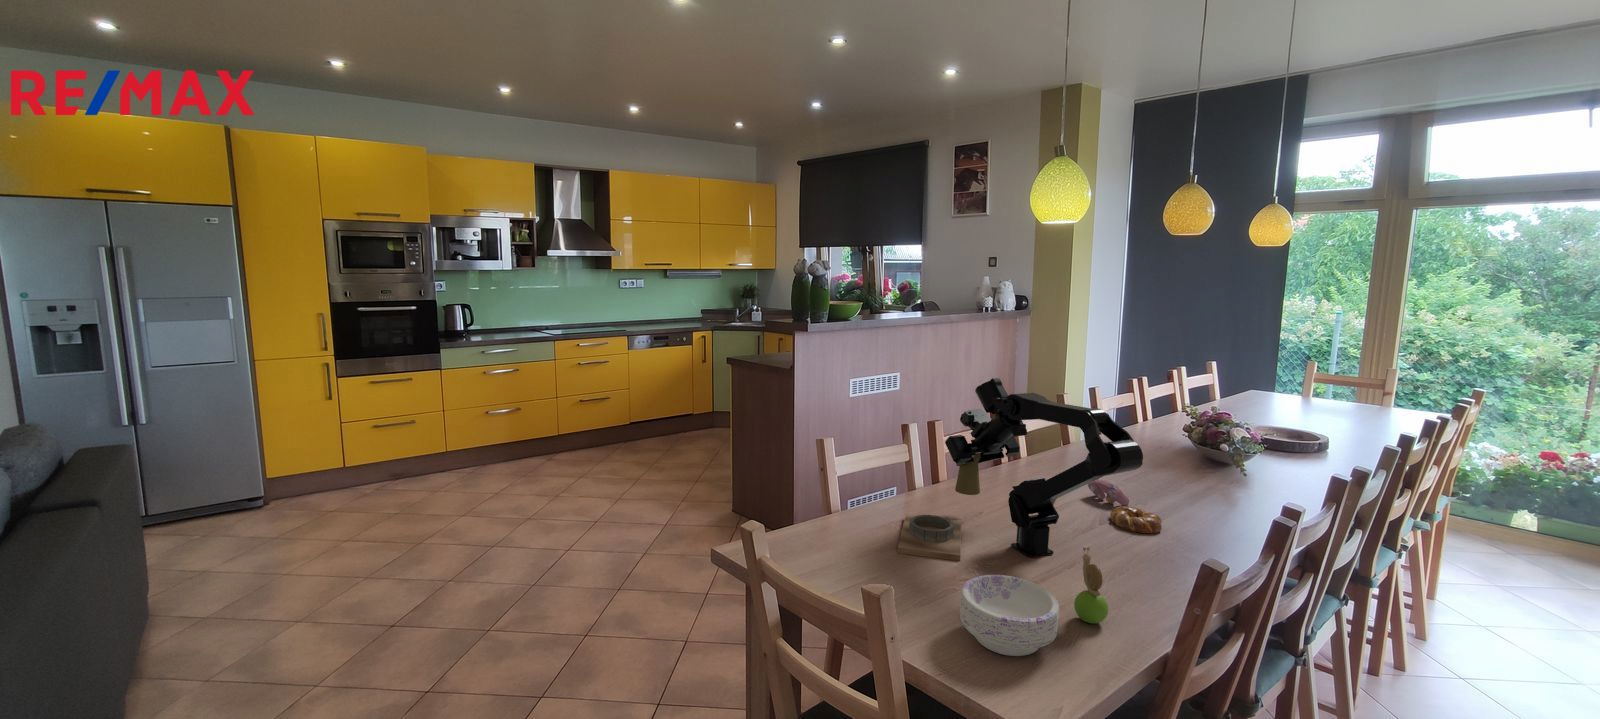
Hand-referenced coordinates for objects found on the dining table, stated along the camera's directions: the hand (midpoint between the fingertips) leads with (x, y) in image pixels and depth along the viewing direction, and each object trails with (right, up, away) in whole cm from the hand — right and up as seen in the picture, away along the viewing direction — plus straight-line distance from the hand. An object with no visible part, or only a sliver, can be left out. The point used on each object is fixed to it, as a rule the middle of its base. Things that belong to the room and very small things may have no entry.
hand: (965, 463), depth 163 cm
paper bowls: (-7, -21, -55) cm, 59 cm away
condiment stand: (-11, -15, -14) cm, 23 cm away
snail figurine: (+9, -20, -48) cm, 53 cm away
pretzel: (+40, -15, -3) cm, 43 cm away
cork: (0, -7, 0) cm, 7 cm away
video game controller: (+41, -13, +14) cm, 45 cm away
